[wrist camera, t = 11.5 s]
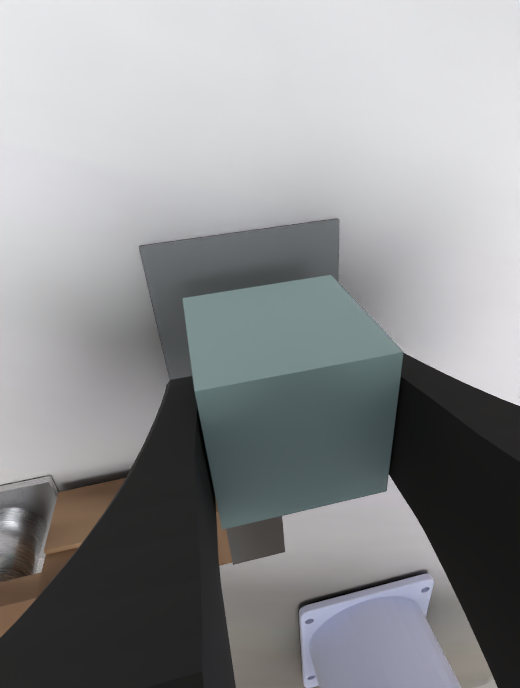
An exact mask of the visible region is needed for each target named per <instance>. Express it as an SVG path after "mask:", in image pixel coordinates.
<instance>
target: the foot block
mask: <svg viewBox="0 0 520 688" xmlns="http://www.w3.org/2000/svg"><path fill="white" fill-rule="evenodd" d="M183 306H184V314H185V322H186V329H187V337H188V345H189V352H190V360H191V368H192V376H193V383H194V391H195V396H196V401H197V406H198V411H199V416H200V421H201V426H202V431H203V436H204V441H205V446H206V451H207V456H208V461H209V466H210V471H211V477H212V482H213V487H214V492H215V497H216V502H217V507H218V512H219V517H220V522H221V527H222V530H223V529H228V528H232V527H236V526H240V525H245V524H249V523H253V522H257V521H262V520H266V519H270V518H274V517H279V516H283V515H287V514H291V513H296V512H300V511H304V510H308V509H313V508H317V507H321V506H326V505H330V504H334V503H338V502H343V501H347V500H351V499H355V498H360V497H364V496H368V495H372V494H377V493H381V492H385V491H387V483H388V475H389V467H390V459H391V450H392V442H393V434H394V426H395V418H396V410H397V402H398V393H399V385H400V377H401V369H402V361H403V353H404V352H403V351H402V350H401V349H400V348H399V347H398V346H397V345H396V343H395V342H394V341H393V340H392V339H391V338H390V337H389V336H388V335H387V334H386V333H385V332H384V331H383V330H382V329H381V328H380V326H379V325H378V324H377V323H376V322H375V321H374V320H373V319H372V318H371V317H370V316H369V315H368V314H367V313H366V312H365V310H364V309H363V308H362V307H361V306H360V305H359V304H358V303H357V302H356V301H355V300H354V299H353V298H352V297H351V296H350V295H349V293H348V292H347V291H346V290H345V289H344V288H343V287H342V286H341V285H340V284H339V283H338V282H337V281H336V280H335V279H334V278H333V276H332V275H327V276H320V277H314V278H307V279H301V280H295V281H288V282H282V283H276V284H269V285H263V286H257V287H250V288H244V289H238V290H231V291H225V292H219V293H212V294H206V295H200V296H193V297H187V298H183Z"/></svg>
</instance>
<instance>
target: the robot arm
mask: <svg viewBox="0 0 520 688" xmlns="http://www.w3.org/2000/svg"><path fill="white" fill-rule="evenodd" d="M389 475H390V477H391V478H392V480H393V481H394V483H395V485H396V486H397V488H398V489H399V491H400V492H401V494H402V495H403V497H404V499H405V500H406V502H407V503H408V505H409V506H410V508H411V510H412V511H413V513H414V514H415V516H416V518H417V519H418V521H419V523H420V524H421V526H422V528H423V530H424V531H425V533H426V535H427V537H428V539H429V541H430V543H431V545H432V547H433V549H434V551H435V553H436V555H437V557H438V559H439V561H440V563H441V565H442V567H443V569H444V571H445V573H446V575H447V577H448V579H449V581H450V583H451V585H452V587H453V589H454V591H455V594H456V596H457V598H458V600H459V602H460V604H461V606H462V608H463V610H464V612H465V614H466V617H467V619H468V621H469V623H470V626H471V628H472V630H473V632H474V634H475V637H476V639H477V641H478V643H479V646H480V648H481V650H482V652H483V654H484V657H485V659H486V661H487V663H488V666H489V668H490V670H491V673H492V675H493V677H494V680H495V682H496V684H497V687H498V688H520V406H518V405H515V404H513V403H510V402H508V401H505V400H502V399H500V398H498V397H495V396H493V395H491V394H488V393H486V392H484V391H481V390H479V389H477V388H474V387H472V386H470V385H468V384H465V383H463V382H461V381H459V380H457V379H455V378H453V377H451V376H448V375H446V374H444V373H442V372H440V371H438V370H436V369H434V368H432V367H430V366H428V365H426V364H424V363H422V362H420V361H418V360H416V359H414V358H412V357H410V356H408V355H407V354H405V353H403V361H402V369H401V377H400V385H399V393H398V402H397V410H396V418H395V426H394V434H393V442H392V450H391V459H390V467H389ZM433 584H434V580H433V578H432V576H431V575H430V574H422V575H418V576H414V577H410V578H407V579H403V580H399V581H395V582H392V583H388V584H384V585H380V586H377V587H373V588H369V589H365V590H362V591H358V592H354V593H350V594H346V595H343V596H339V597H335V598H331V599H328V600H324V601H320V602H316V603H313V604H309V605H306V606H303V607H302V608H301V609H300V610H299V624H300V641H301V658H302V675H303V683H304V686H305V687H306V688H312V687H315V686H319V688H461V686H460V684H459V682H458V680H457V678H456V676H455V674H454V672H453V670H452V668H451V666H450V664H449V662H448V660H447V658H446V656H445V655H444V653H443V651H442V649H441V647H440V645H439V643H438V641H437V639H436V637H435V635H434V633H433V631H432V629H431V627H430V625H429V623H428V622H427V620H426V614H427V610H428V605H429V601H430V597H431V593H432V588H433ZM0 688H236V686H235V680H234V673H233V666H232V659H231V652H230V645H229V638H228V631H227V624H226V617H225V610H224V603H223V596H222V589H221V581H220V570H219V556H218V537H217V518H216V499H215V492H214V487H213V482H212V477H211V471H210V466H209V461H208V456H207V451H206V446H205V441H204V436H203V431H202V426H201V421H200V416H199V411H198V406H197V401H196V396H195V391H194V383H193V376H188V377H183V378H177V379H172V380H170V381H169V383H168V384H167V386H166V390H165V394H164V397H163V400H162V403H161V406H160V408H159V411H158V413H157V416H156V418H155V421H154V423H153V425H152V427H151V430H150V432H149V434H148V436H147V439H146V441H145V443H144V445H143V447H142V449H141V451H140V453H139V455H138V456H137V458H136V460H135V462H134V464H133V466H132V468H131V470H130V472H129V473H128V475H127V477H126V478H125V480H124V482H123V484H122V485H121V487H120V489H119V490H118V492H117V493H116V495H115V497H114V498H113V500H112V501H111V503H110V504H109V506H108V507H107V509H106V510H105V512H104V513H103V515H102V516H101V518H100V519H99V520H98V522H97V523H96V524H95V526H94V527H93V529H92V530H91V531H90V533H89V534H88V536H87V537H86V538H85V540H84V541H83V542H82V544H81V545H80V546H79V548H78V549H77V550H76V552H75V553H74V554H73V555H72V557H71V558H70V559H69V561H68V562H67V563H66V564H65V565H64V567H63V568H62V569H61V570H60V571H59V572H58V574H57V575H56V576H55V577H54V578H53V579H52V581H51V582H50V583H49V584H48V585H47V587H46V588H45V589H44V590H43V591H42V592H41V594H40V595H39V596H38V597H37V598H36V600H35V601H34V602H33V603H32V604H31V605H30V607H29V608H28V609H27V610H26V611H25V612H24V613H23V614H22V615H21V617H20V618H19V619H18V620H17V621H16V622H15V623H14V624H13V625H12V626H11V627H10V628H9V629H8V630H7V631H6V632H5V633H4V634H3V636H2V637H1V638H0Z"/></svg>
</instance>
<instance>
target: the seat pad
mask: <svg viewBox="0 0 520 688" xmlns="http://www.w3.org/2000/svg"><path fill="white" fill-rule="evenodd" d="M139 249H140V254H141V258H142V262H143V267H144V271H145V275H146V280H147V284H148V288H149V293H150V297H151V301H152V306H153V310H154V314H155V318H156V323H157V327H158V331H159V336H160V340H161V344H162V349H163V353H164V357H165V362H166V366H167V370H168V374H169V379H170V380H172V379H177V378H183V377H188V376H192V368H191V360H190V352H189V345H188V337H187V329H186V322H185V314H184V306H183V298H187V297H193V296H200V295H206V294H212V293H219V292H225V291H231V290H238V289H244V288H250V287H257V286H263V285H269V284H276V283H282V282H288V281H295V280H301V279H307V278H314V277H320V276H327V275H332V276H333V278H334V279H335V280H336V281H337V282H338V261H339V219H330V220H323V221H316V222H309V223H301V224H294V225H287V226H280V227H273V228H265V229H258V230H251V231H244V232H236V233H229V234H222V235H215V236H208V237H200V238H193V239H186V240H179V241H172V242H164V243H157V244H150V245H143V246H139Z"/></svg>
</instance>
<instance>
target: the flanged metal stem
mask: <svg viewBox="0 0 520 688" xmlns="http://www.w3.org/2000/svg"><path fill="white" fill-rule="evenodd" d="M57 496H58V490H57V488H56V486H55V484H54V482H53V480H52V478H51V476H47V477H42V478H37V479H32V480H27V481H22V482H18V483H13V484H8V485H3V486H0V582H3V581H8V580H12V579H16V578H20V577H25V576H29V575H33V574H35V572H36V568H37V564H38V560H39V558H43V557H45V556H46V554H45V553H44V548H45V544H46V540H47V536H48V532H49V528H50V524H51V520H52V516H53V512H54V508H55V504H56V500H57Z"/></svg>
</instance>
